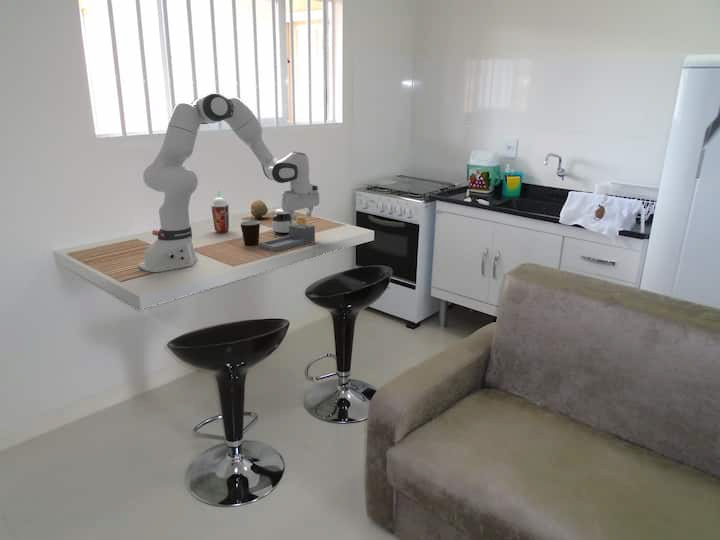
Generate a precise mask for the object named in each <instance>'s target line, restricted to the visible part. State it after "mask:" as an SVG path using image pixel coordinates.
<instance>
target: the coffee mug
mask: <svg viewBox="0 0 720 540" xmlns="http://www.w3.org/2000/svg"><path fill="white" fill-rule="evenodd" d="M260 223H261V222H260V221H258V220H244V221H241V222H240V229H241V233H242V239H243V244H244V246H246V247H255V246H259V245H260V228H261V227H260V226H261V224H260Z"/></svg>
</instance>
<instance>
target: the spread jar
mask: <svg viewBox="0 0 720 540" xmlns="http://www.w3.org/2000/svg"><path fill="white" fill-rule="evenodd" d="M274 210H275V212H274V213H275V214H274V215H273V218H272V231H273V232H274V234H275V235H279V236H289V225H293V224H294V220H291V215H290V214H289V212H285V211H283V210H282V208H277V209H274Z"/></svg>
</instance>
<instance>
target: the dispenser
mask: <svg viewBox="0 0 720 540" xmlns="http://www.w3.org/2000/svg"><path fill="white" fill-rule="evenodd" d="M315 231H316V230H315V225H311V224H307V223H306V227H305V226H301V225H297V223H293V225H289V234H288V235H285V236H282V237H279V238H273V239H270V240H266V241H262V242H259V248H260V249H264V250H268V251H270V252H273V253H274V252H279V250H280V251H283V250H287V249H289V247H291V248H294V247H293V246H295V247H297V246H301V245H305V244H309V243H313V242H316V232H315ZM286 248H287V249H286ZM282 249H283V250H282Z"/></svg>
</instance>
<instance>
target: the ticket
mask: <svg viewBox="0 0 720 540" xmlns="http://www.w3.org/2000/svg"><path fill="white" fill-rule="evenodd" d="M296 224H297V225H301V226H305V227H306V224H307V219H306V217H303V216H296Z"/></svg>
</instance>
